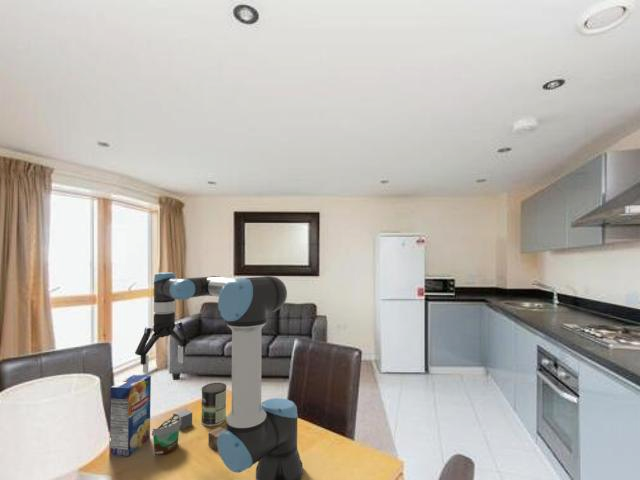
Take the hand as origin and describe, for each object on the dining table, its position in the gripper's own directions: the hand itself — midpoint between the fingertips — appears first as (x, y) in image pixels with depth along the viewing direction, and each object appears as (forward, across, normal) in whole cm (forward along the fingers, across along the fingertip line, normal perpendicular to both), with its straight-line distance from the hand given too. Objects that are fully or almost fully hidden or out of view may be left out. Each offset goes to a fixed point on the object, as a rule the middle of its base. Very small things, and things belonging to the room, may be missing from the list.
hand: (163, 367), depth 126 cm
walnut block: (+28, -11, +19) cm, 36 cm away
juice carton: (+28, +9, -7) cm, 30 cm away
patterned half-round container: (+28, +1, +7) cm, 29 cm away
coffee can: (+28, -21, +2) cm, 35 cm away
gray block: (+28, -11, -5) cm, 31 cm away
